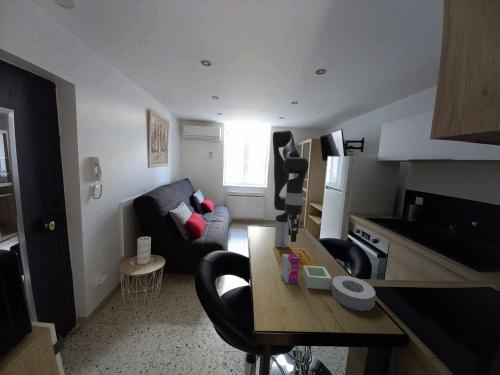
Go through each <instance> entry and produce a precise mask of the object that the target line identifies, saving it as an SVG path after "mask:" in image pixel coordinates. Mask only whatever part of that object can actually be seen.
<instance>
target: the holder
mask: <svg viewBox="0 0 500 375" xmlns="http://www.w3.org/2000/svg"><path fill="white" fill-rule="evenodd" d="M302 278H303V281H304V283H305V287H306V288H307V289H317V290H329V291H332V282H333V279H332V277H331V275H330V274H329V271H328V270H327V269H326V267H325V266H317V265H302Z"/></svg>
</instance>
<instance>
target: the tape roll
mask: <svg viewBox="0 0 500 375" xmlns="http://www.w3.org/2000/svg"><path fill="white" fill-rule="evenodd" d="M376 295H377V294H376V290H375V289H374V287H373V286H372V285H370V283H368V282H366V281H365V280H362V279H360V278H357V277H353V276H349V275H337V276H335V277H334V278H333V279H332V281H331V296H332V297H333V299H334V300H336V301H337V302H338V303H339V304H340V305H342V306H345V307H347V308H349V309H352V310H354V311H359V310H360V311H361V312H365V311H364V310H368V311H371V310H373V309H374V308H375V304H376ZM373 307H374V308H373ZM372 308H373V309H372ZM370 309H371V310H370Z"/></svg>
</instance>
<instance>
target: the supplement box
mask: <svg viewBox="0 0 500 375" xmlns="http://www.w3.org/2000/svg"><path fill="white" fill-rule="evenodd" d="M281 256H282V257H281V270H280V272H281V273H280V278H281V279H282V281H283V282H284V283H285V284H286V285H288V284H296V283H298V279H299V265H300V258H299V256H296V255H295V254H294V253H283V254H282V255H281Z"/></svg>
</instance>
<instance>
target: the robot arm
mask: <svg viewBox="0 0 500 375" xmlns="http://www.w3.org/2000/svg"><path fill="white" fill-rule="evenodd" d="M272 147H273V148H272V149H273V178H274V184H273V185H274V194H273V195H274V197H273V198H274V199H273V204H274V210H276V211H283V213H281V214H278V215H276V216H275V227H274V228H275V229H274V230H275V231H274V246H275V245H276V246H277V247H276V246H275V247H276V248H278V247H282V248H281V249H286V247H287V248H288V247H289V244H290V243H289V242H291V243H296V242H297V234H299V221H300V220H299V218H298V215H302V213H303V204H304V197H303V190H304V189H303V188H304V182H305V178H306V175H307V172H308V169H309V166H310V163H309V161H308V159H307V158H305V157H300V153H299V152H298V150H297V148H296V142H295V138H294V134H293V133H292V131H291V130H290V129H289V130H288V129H287V130H276V131H274V132H273V134H272ZM280 148H283V149H282V155H281V152H280ZM282 156H283V157H282ZM291 174H292V175H293V174H294V175H295V174H297V176H296V177H295V178H290V175H291ZM285 186H286V188H285V189H286V191H285V192H286V193H285V196H281V195H280V194H281V192H282V190H283V189H284V187H285ZM289 240H290V241H289Z"/></svg>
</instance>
